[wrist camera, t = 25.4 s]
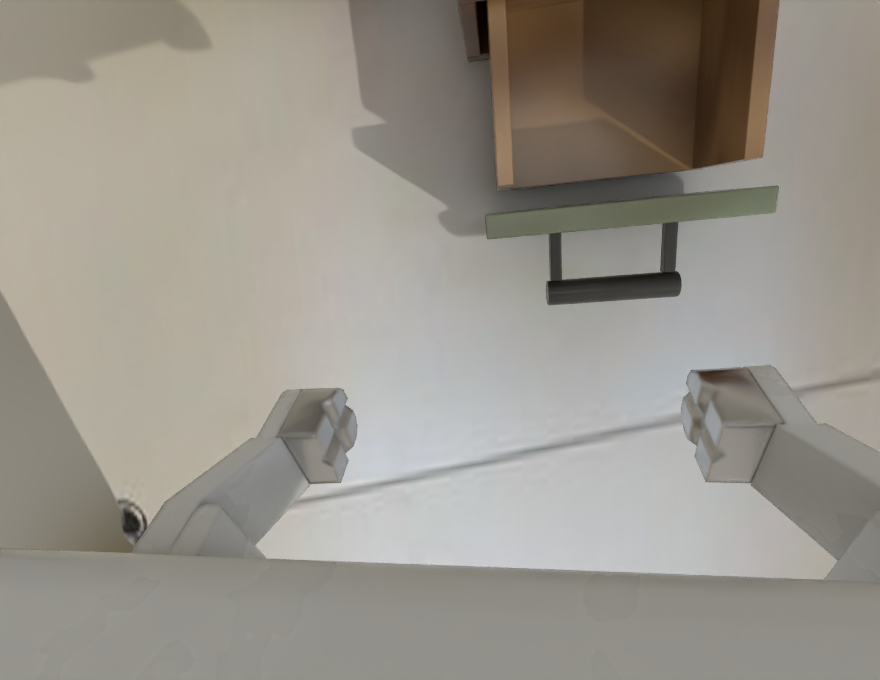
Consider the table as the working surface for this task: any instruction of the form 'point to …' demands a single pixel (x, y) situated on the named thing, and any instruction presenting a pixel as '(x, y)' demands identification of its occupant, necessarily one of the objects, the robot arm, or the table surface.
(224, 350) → the table surface
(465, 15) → the cabinet
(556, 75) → the drawer
